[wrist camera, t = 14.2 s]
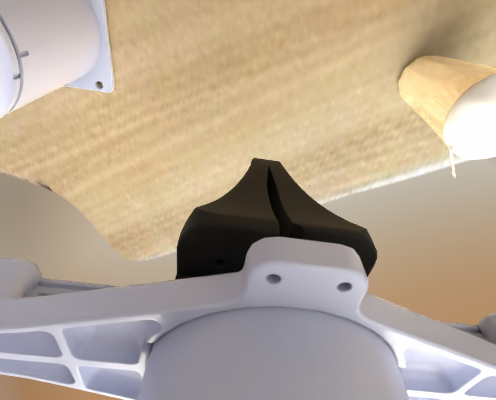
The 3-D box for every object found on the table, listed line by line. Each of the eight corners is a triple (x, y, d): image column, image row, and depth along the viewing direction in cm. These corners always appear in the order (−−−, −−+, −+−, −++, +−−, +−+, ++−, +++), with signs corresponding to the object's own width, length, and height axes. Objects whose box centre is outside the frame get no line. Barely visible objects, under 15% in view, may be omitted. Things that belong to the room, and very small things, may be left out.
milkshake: (366, 87, 22) (432, 145, 14) (437, 28, 20) (567, 56, 11) (397, 128, 24) (471, 201, 15) (465, 79, 21) (594, 135, 13)
